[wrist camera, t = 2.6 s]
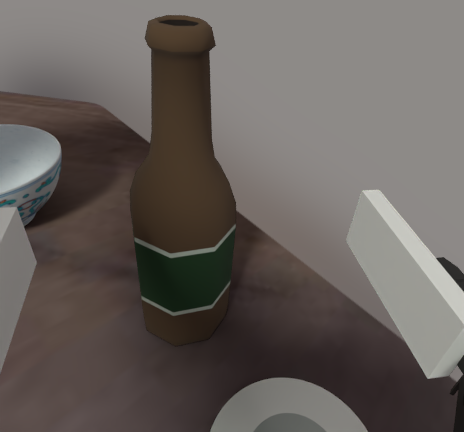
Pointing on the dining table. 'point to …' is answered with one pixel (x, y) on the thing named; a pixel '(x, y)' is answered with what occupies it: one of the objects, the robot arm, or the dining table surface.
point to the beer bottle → (182, 192)
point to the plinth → (286, 409)
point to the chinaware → (27, 168)
